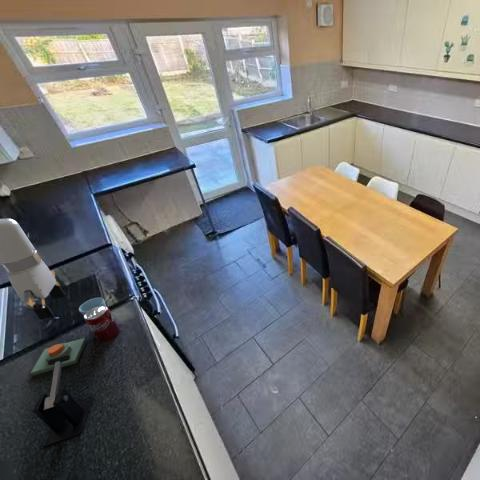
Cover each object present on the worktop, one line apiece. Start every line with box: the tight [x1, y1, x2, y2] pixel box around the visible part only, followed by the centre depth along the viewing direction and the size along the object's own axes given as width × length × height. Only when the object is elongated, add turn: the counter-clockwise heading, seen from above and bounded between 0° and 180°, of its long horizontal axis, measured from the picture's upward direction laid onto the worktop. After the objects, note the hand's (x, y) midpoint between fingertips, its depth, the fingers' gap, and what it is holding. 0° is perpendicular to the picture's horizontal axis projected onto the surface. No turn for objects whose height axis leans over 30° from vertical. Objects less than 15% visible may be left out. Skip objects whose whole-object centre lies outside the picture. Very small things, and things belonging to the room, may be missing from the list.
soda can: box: [83, 305, 122, 343], centre depth 98 cm, size 7×7×12 cm
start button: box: [48, 343, 64, 356], centre depth 91 cm, size 4×4×2 cm
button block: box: [30, 337, 89, 376], centre depth 92 cm, size 12×10×4 cm
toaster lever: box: [43, 355, 70, 411], centre depth 73 cm, size 13×4×2 cm, turn 21°
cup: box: [78, 297, 107, 317], centre depth 104 cm, size 8×8×10 cm
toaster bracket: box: [32, 387, 94, 448], centre depth 72 cm, size 10×8×12 cm
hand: (54, 306), depth 84 cm, fingers open, 9 cm apart
